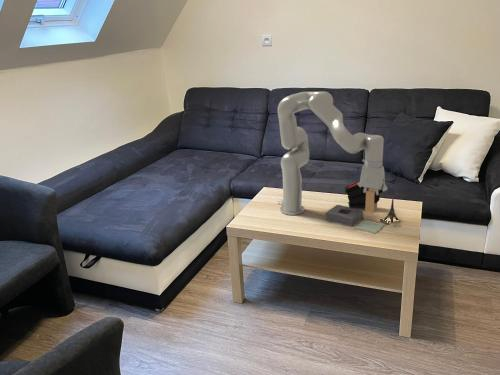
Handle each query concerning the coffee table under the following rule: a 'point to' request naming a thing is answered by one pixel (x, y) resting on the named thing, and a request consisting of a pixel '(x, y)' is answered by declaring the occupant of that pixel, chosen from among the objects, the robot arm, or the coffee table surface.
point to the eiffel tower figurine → (389, 215)
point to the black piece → (355, 196)
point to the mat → (369, 226)
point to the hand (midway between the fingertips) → (371, 200)
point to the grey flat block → (344, 215)
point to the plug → (370, 201)
